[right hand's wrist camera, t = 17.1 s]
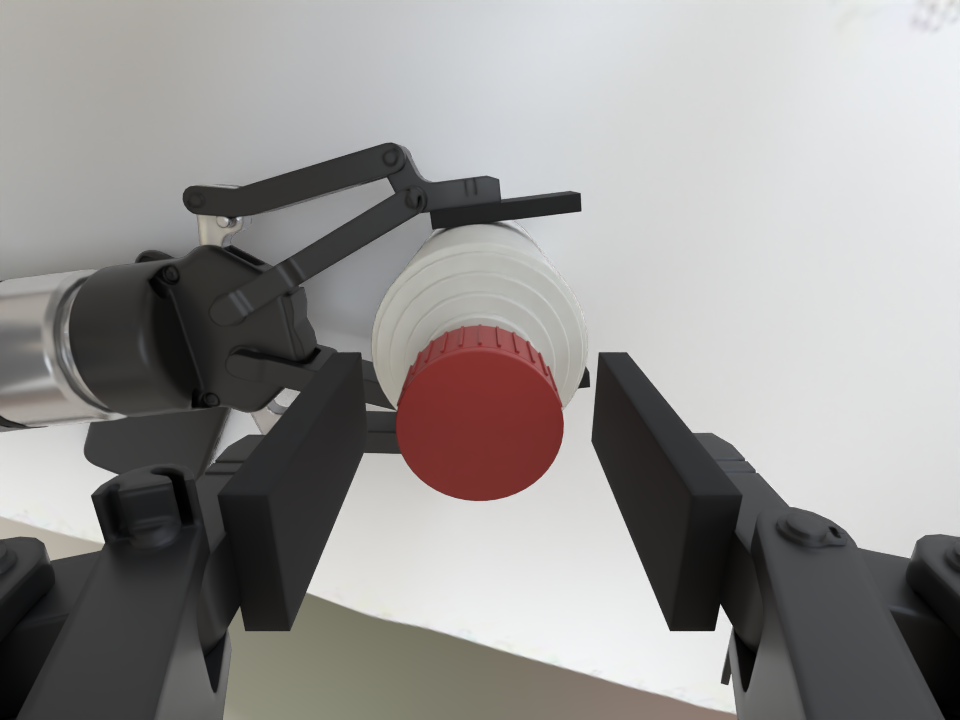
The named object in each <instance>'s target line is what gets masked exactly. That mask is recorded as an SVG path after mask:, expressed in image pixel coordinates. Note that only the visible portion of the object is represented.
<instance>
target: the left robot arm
mask: <svg viewBox="0 0 960 720" xmlns="http://www.w3.org/2000/svg"><path fill="white" fill-rule="evenodd" d="M383 178H388V180H389V182H390V184H391V186H392V187H393V189H394V191H395V193H396V194H394V195H392V196H391V197H389V198H387V199H386V200H384V201H382V202H381V203H379V204H377V205H376V206H374V207H372V208H371V209H369V210H367V211H366V212H364V213H362V214H361V215H359V216H357V217H356V218H354V219H353V220H351V221H349V222H348V223H346V224H344V225H343V226H341V227H339V228H338V229H336V230H334V231H333V232H331V233H329V234H328V235H326V236H324V237H323V238H321V239H319V240H318V241H316V242H315V243H313V244H311V245H310V246H308V247H306V248H305V249H303V250H301V251H300V252H298V253H296V254H295V255H293V256H291V257H290V258H288V259H286V260H284V261H282V262H281V263H279V264H277V265H276V266H274V267H273V266H271V265H269V264H267V263H265V262H263V261H261V260H259V259H257V258H256V257H254V256H252V255H250V254H248V253H246V252H244V251H242V250H240V249H238V248H236V247H234V246H232V245H231V238H232V236H233V235H234V234H235V233H237V232H241V231H245V230H246V229H248V228H249V227H250V225H251V215H255V214H261V213H266V212H271V211H275V210H279V209H282V208H286V207H289V206H292V205H296V204H299V203H302V202H306V201H309V200H313V199H316V198H319V197H323V196H326V195H329V194H333V193H336V192H339V191H343V190H346V189H350V188H353V187H356V186H360V185H363V184H366V183H370V182H373V181H376V180H380V179H383ZM183 202H184V205H185V206H186V208H187V209H188V210H189V211H190V212H192V213H194V214H197V220H198V229H199V239H200V246H199V247H197V248H195V249H193V250H192V251H191V252H190V253H189V254H188V255H186V256H185V257H183V258H176V259H168V260H159V261H151V262H143V263H135V264H127V265H119V266H111V267H106V268H103V269H100V270H94V269H86V270H78V271H70V272H62V273H54V274H46V275H38V276H30V277H22V278H14V279H7V280H4V281H0V432H6V431H14V430H22V429H30V428H40V427H48V426H57V425H68V424H79V423H89V422H100V421H111V420H117V419H123V418H126V417H128V416H130V417H143V416H153V415H162V414H171V413H180V412H189V411H198V410H204V409H209V408H214V407H229V408H233V409H236V410H239V411H242V412H247V413H251V415H252V417H253V419H254V420H255V422H256V424H257V426H258V428H259V430H260V432H261V434H262V435H266V434H267V433H268V432H269V431H270V430H271V428H272V427H273V426H274V425H275V423H276V422H277V421H278V420H279V418H280V417H281V416H282V415H283V414H284V412H285V411H286V410H287V409H288V407H282V406H280V405H278V404H277V403H276V402H275V400H274V398H275V397H276V396H277V395H278V394H279V393H281V392H282V391H283V390H284V389H285V388H289V389H293V390H297V391H302V390H303V389H304V388H305V387H306V385H307V384H308V383H309V382H310V380H311V379H312V378H313V377H314V375H315V374H316V373H317V372H318V371H319V369H320V368H321V367H322V366H323V364H324V363H325V362H326V361H327V359H328V358H329V357H330V356H331V355H332V353H333V352H337V351H336V350H335V349H333V348H330V347H326V346H322V345H318V344H317V341H316V337H315V333H314V330H313V328H312V326H311V324H310V323H309V321H308V319H307V299H306V295H305V291H304V287H300V288H299V286H298V285H299V284H301V283H303V282H304V281H306V280H308V279H309V278H311V277H313V276H314V275H316V274H318V273H319V272H321V271H323V270H324V269H326V268H328V267H329V266H331V265H333V264H335V263H336V262H338V261H340V260H341V259H343V258H345V257H346V256H348V255H350V254H351V253H353V252H355V251H357V250H358V249H360V248H362V247H363V246H365V245H367V244H368V243H370V242H372V241H373V240H375V239H377V238H378V237H380V236H382V235H384V234H385V233H387V232H389V231H390V230H392V229H394V228H395V227H397V226H399V225H400V224H402V223H404V222H406V221H407V220H409V219H411V218H412V217H414V216H416V215H417V214H419V213H426V212H430V216H431V223H432V229H442V228H450V227H458V226H466V225H474V224H482V223H491V222H499V221H507V220H515V219H523V218H531V217H539V216H548V215H556V214H564V213H572V212H580V211H581V193H577V192H572V191H566V192H558V193H550V194H542V195H534V196H526V197H518V198H510V199H502V200H501V194H500V184H499V179H496V178H493V177H489V176H480V177H473V178H465V179H457V180H449V181H441V182H431V181H428V180H426V179H424V178H423V177H422V176H421V174H420V173H419V171H418V169H417V167H416V165H415V163H414V161H413V160H412V156H411V154H410V152H409V150H408V149H406V148H405V147H403V146H401V145H398V144H394V143H384V144H381V145H378V146H375V147H371V148H368V149H365V150H361V151H358V152H355V153H352V154H348V155H345V156H342V157H338V158H335V159H332V160H329V161H325V162H322V163H319V164H315V165H312V166H309V167H306V168H302V169H299V170H296V171H292V172H289V173H286V174H283V175H279V176H276V177H273V178H269V179H266V180H263V181H259V182H256V183H253V184H250V185H246V186H234V185H201V186H190V187H188V188H187V189H186V190H185V191H184V193H183ZM362 369H363V381H364V393H365V403H369V404H373V405H377V406H381V407H385V408H389V409H393V410H396V409H395V408H394V407H393V405H392V404H391V403H390V401H389V400H388V398H387V397H386V395H385V393H384V392H383V390H382V388H381V385H380V383H379V381H378V379H377V375H376V372H375V369H374V365H373V362H370V361H366V360H362ZM586 387H590V377H589V371H588V370H587V368H586V366H585V369H584V373H583V377H582V379H581V381H580V384H579V386H578V388H586ZM396 414H397V412H381V411H366V417H367V428H368V440H369V441H368V444H367V446H366V449H365V451H364V453H390V454H401V451H400V449H399V446H398V442H397V438H396V429H395V423H396V421H395V420H396Z"/></svg>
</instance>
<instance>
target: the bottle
mask: <svg viewBox="0 0 960 720" xmlns="http://www.w3.org/2000/svg"><path fill="white" fill-rule="evenodd" d="M479 324H482V326H491V327H496V326H498V327H499V328H501V329H504V330H507V331H509V332H515V333H516V335H518V336H519V337H521V338H523V339H524V340H525V341H529V342H530V344H531V346H532V347H533V348H535V350H536V351H537V352H538V353H539V352H540V353H541V354H542V357H543V360H544V362H545V364H546V366H549V367H550V370H551V373H552V376H553V378H554V381H555V384H556V387H557V390H558V394H559V397H560V400H561V402H562V406H563V407H561V409H562V411H563V409H564V408H565V407H566V406H567V404H568V403H569V402H570V400H571V399H572V397H573V395H574V394H575V392H576V390H577V388H578V386H579V384H580V381H581V379H582V377H583V373H584V369H585V366H586V360H587V353H588V336H587V330H586V323H585V320H584V316H583V313H582V310H581V308H580V306H579V303H578V301H577V299H576V297H575V296H574V294H573V292H572V291H571V289H570V288H569V286H568V285H567V284H566V282H565V281H564V280H563V278H562V277H561V276H560V275H559V273H558V272H557V271H556V269H555V268H554V267H553V266H552V264H551V263H550V262H549V260H548V259H547V258H546V256H545V255H544V254H543V253H542V251H541V250H540V249H539V247H538V246H537V245H536V244H535V242H534V241H533V240H532V238H531V237H530V236H529V235H528V234H527V232H526V231H525V230H524V229H523V228H522V227H521V226H519V225H518V224H517V223H515V222H514V221H512V220H507V221H499V222H491V223H482V224H474V225H466V226H458V227H450V228H442V229H436V230H435V231H434V232H433V233H432V234H431V235H430V237H429V238H428V239H427V240H426V242H425V243H424V244H423V246H422V247H421V248H420V249H419V251H418V252H417V253H416V255H415V256H414V257H413V258H412V260H411V261H410V262H409V264H408V265H407V266H406V267H405V269H404V270H403V271H402V272H401V274H400V275H399V276H398V278H397V279H396V280H395V281H394V283H393V284H392V285H391V287H390V288H389V289H388V291H387V293H386V294H385V296H384V298H383V299H382V301H381V304H380V306H379V309H378V311H377V313H376V317H375V321H374V325H373V331H372V339H371V343H372V358H373V365H374V369H375V372H376V375H377V379H378V381H379V383H380V385H381V388H382V390H383V392H384V393H385V395H386V397H387V398H388V400H389V401H390V403H391V404H392V405H393V407H394V408H395V409H396V410H397V409H398V406H397V402H398V399H399V396H400V394H401V391H402V387H403V384H404V381H405V379H406V376H407V373H408V370H409V367H410V365H412V366H413V364H414V362H415V360H416V358H417V355H418V353H419V351H420V352H422V351H423V350H424V349H425V348H426V347H427V346H428V345H429V343H430V341H431V340H433V341H434V340H435V339H436V338H438V337H440V336H441V335H443V334H444V332H446V331H447V332H450V331H452V330H455V329H459V328H461V326H464V327H468V326H478V325H479Z"/></svg>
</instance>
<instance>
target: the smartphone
mask: <svg viewBox="0 0 960 720" xmlns="http://www.w3.org/2000/svg"><path fill="white" fill-rule="evenodd" d="M168 259H175V258H173V257H171V256H169V255H166V254H164V253H162V252H159V251H155V250H148V251H144V252H142V253H141V254H140V255H139V256H138V257H137V259H136V261H135V263H143V262H151V261H159V260H168ZM135 263H134V264H135ZM230 409H231V408H229V407H214V408H209V409H204V410H198V411H189V412H180V413H171V414H162V415H153V416H143V417H130V416H128V417H126V418H123V419H117V420H111V421H100V422H91V423H90V427H89V430H88V434H87V438H86V441H85V445H84V455H85V457H86V459H87V460H88V461H89V462H90V463H92V464H93V465H95V466H98V467H100V468H103V469H105V470H108V471H111V472H113V473H116V474H118V475H121V474H123V473H126V472H128V471H131V470H134V469H137V468H141V467H146V466H150V465H154V464H169V463H173V464H179V465H185V466H186V467H188V468H189V469H191V470H192V471H193V474H194V479H195V482H196V481H197V480H198V479H199V478H200V477H201V476H202V475H205V471H206V470H207V469H208V468H209V465H210V464H211V461H212V458H213V456H214V452H215V449H216V448H217V445H218V442H219V440H220V435H221V433H222V430H223V427H224V425H225V422H226V419H227V417H228V414H229V411H230Z"/></svg>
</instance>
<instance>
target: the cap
mask: <svg viewBox="0 0 960 720" xmlns="http://www.w3.org/2000/svg"><path fill="white" fill-rule="evenodd" d="M397 406H398V409H397V414H396V420H395V421H396V423H395V429H396V438H397V442H398V446H399V449H400V451H401V454H402V456H403V458H404V459H405V461H406V463H407V464H408V466H409V467H410V468H411V470H412V471H413V472H414V473H415V474H416V475H417V476H418V477H419V478H420V479H421V480H422V481H423V482H425V483H426V484H427V485H428V486H430V487H432V488H433V489H435V490H437V491H439V492H441V493H443V494H445V495H448V496H451V497H454V498H458V499H463V500H471V501H488V500H496V499H500V498H505V497H508V496H511V495H513V494H516V493H518V492H520V491H522V490H524V489H526V488H527V487H529V486H530V485H532V484H533V483H535V482H536V481H537V480H538V479H539V478H540V477H542V475H543V474H544V473H545V472H546V471H547V470H548V469H549V467H550V466H551V464H552V463H553V461H554V460H555V458H556V456H557V454H558V451H559V448H560V445H561V442H562V437H563V427H564V422H563V413H562V409H561V407H563V406H562V402H561V400H560V397H559V394H558V390H557V387H556V384H555V381H554V378H553V376H552V373H551V370H550V367H549V366H546V364H545V362H544V360H543V357H542V354H541V353H540V352H539V353H538V352H537V351H536V350H535V348H533V347H532V346H531V344H530V342H529V341H525V340H524V339H523V338H521V337H519V336H518V335H516V333H515V332H509V331H507V330H504V329H501V328H499V327H498V326H496V327H491V326H482V324H479V325H478V326H468V327H464V326H461V328H459V329H455V330H452V331H450V332H447V331H446V332H444V334H443V335H441V336H440V337H438V338H436V339H435V340H434V341H433V340H431V341H430V343H429V345H428V346H427V347H426V348H425V349H424V350H423V351H422V352H420V351H419V353H418V355H417V358H416V360H415V362H414V364H413V366H412V365H410V367H409V370H408V373H407V376H406V379H405V381H404V384H403V387H402V391H401V394H400V396H399V399H398V402H397Z"/></svg>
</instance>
